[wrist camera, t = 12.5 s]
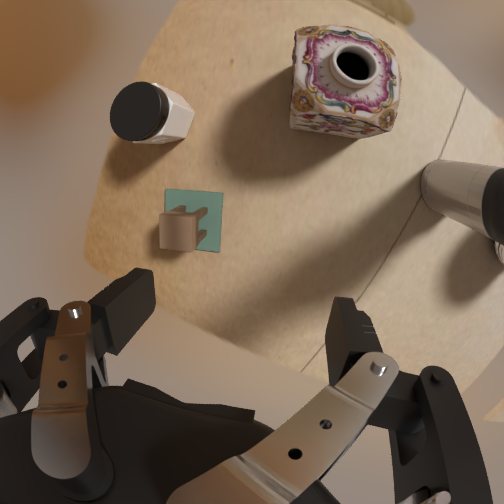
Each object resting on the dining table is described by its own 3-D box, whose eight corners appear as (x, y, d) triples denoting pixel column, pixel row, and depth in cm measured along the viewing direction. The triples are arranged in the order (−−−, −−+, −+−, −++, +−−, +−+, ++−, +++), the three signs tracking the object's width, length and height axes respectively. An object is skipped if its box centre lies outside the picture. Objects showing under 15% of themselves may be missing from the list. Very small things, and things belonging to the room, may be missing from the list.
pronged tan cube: (208, 207, 43) (192, 217, 36) (207, 236, 45) (191, 252, 38) (179, 204, 44) (159, 214, 36) (179, 233, 46) (159, 248, 38)
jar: (150, 148, 42) (110, 149, 30) (145, 105, 39) (104, 94, 28) (199, 136, 40) (168, 130, 29) (192, 90, 37) (161, 71, 26)
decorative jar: (365, 74, 33) (409, 32, 16) (362, 140, 37) (411, 131, 20) (292, 62, 34) (294, 6, 17) (287, 129, 38) (287, 108, 21)
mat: (223, 192, 43) (222, 193, 42) (219, 251, 46) (219, 252, 46) (166, 188, 44) (165, 189, 43) (166, 244, 47) (165, 245, 47)
